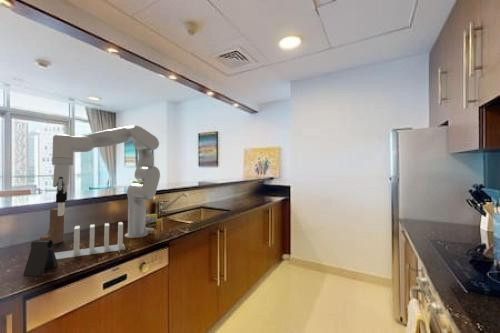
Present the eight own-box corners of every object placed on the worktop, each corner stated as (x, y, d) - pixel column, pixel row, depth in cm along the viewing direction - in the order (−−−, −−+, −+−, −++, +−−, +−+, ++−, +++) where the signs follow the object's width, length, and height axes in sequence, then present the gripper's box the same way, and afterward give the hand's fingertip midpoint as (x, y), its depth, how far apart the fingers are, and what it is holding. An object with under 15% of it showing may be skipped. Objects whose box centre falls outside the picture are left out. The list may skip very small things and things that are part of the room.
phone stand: (43, 266, 98) (44, 237, 98) (58, 266, 98) (59, 237, 98) (22, 276, 89) (23, 244, 89) (39, 276, 89) (40, 244, 89)
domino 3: (94, 248, 118) (94, 224, 118) (93, 252, 113) (94, 227, 113) (89, 249, 117) (90, 224, 117) (89, 253, 112) (90, 227, 112)
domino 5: (121, 245, 125) (122, 221, 125) (122, 248, 120) (123, 224, 120) (117, 245, 124) (118, 222, 124) (118, 249, 119) (119, 224, 119)
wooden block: (46, 246, 121) (47, 211, 121) (39, 245, 122) (40, 210, 122) (63, 241, 130) (64, 208, 130) (57, 240, 131) (58, 207, 131)
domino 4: (108, 246, 121) (108, 223, 122) (108, 250, 116) (109, 225, 116) (104, 247, 120) (104, 223, 121) (104, 251, 115) (104, 226, 116)
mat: (123, 244, 127) (123, 243, 127) (125, 250, 118) (125, 249, 118) (50, 254, 111) (50, 253, 111) (46, 261, 102) (46, 260, 102)
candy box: (133, 229, 158) (134, 216, 158) (132, 228, 160) (132, 216, 160) (157, 225, 170) (157, 213, 170) (156, 225, 172) (156, 213, 172)
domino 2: (79, 250, 115) (79, 225, 115) (78, 254, 110) (79, 228, 110) (74, 251, 114) (75, 226, 114) (73, 255, 109) (74, 228, 109)
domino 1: (57, 216, 106) (58, 188, 106) (59, 213, 111) (60, 187, 111) (62, 215, 107) (63, 188, 107) (64, 213, 112) (65, 187, 112)
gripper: (55, 161, 115) (53, 199, 114) (48, 161, 100) (47, 204, 100) (74, 162, 119) (73, 199, 118) (71, 162, 104) (69, 203, 104)
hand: (61, 201), depth 109 cm, fingers closed on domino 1, 5 cm apart
